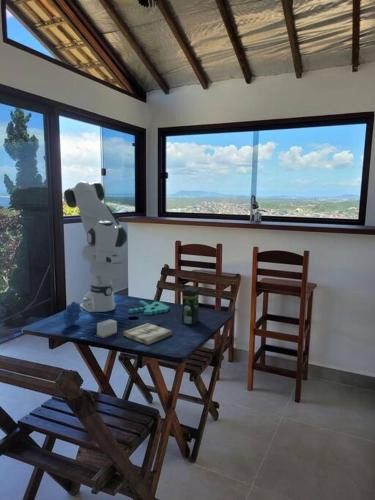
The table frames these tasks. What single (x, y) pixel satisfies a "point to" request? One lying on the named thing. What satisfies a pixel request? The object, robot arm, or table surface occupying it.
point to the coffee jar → (190, 305)
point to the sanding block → (106, 328)
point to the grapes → (71, 314)
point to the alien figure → (150, 308)
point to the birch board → (147, 333)
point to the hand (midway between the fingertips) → (106, 286)
